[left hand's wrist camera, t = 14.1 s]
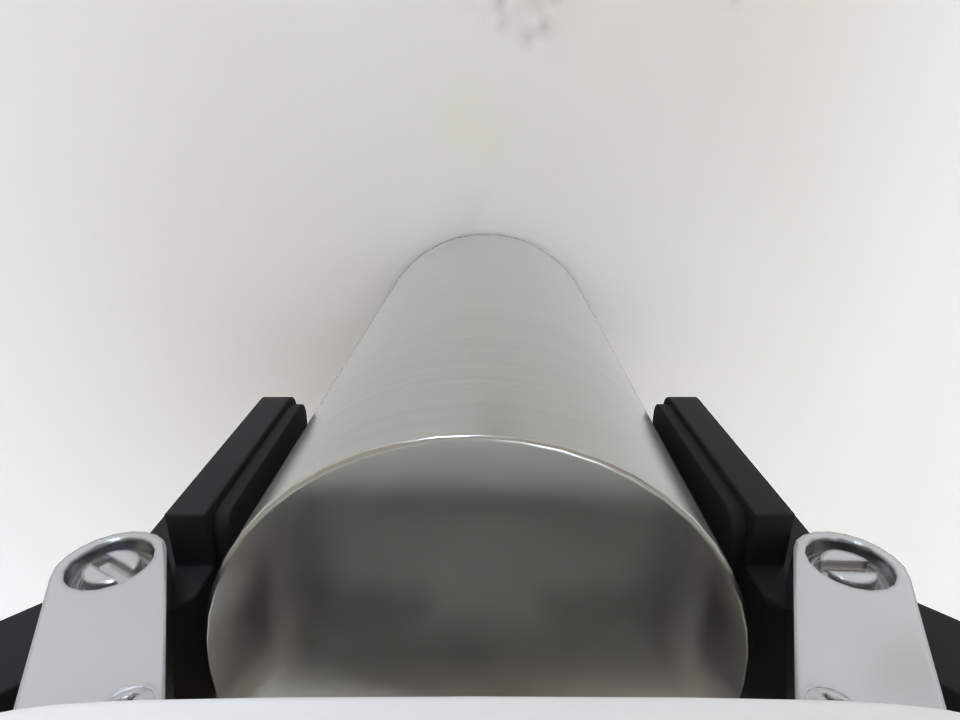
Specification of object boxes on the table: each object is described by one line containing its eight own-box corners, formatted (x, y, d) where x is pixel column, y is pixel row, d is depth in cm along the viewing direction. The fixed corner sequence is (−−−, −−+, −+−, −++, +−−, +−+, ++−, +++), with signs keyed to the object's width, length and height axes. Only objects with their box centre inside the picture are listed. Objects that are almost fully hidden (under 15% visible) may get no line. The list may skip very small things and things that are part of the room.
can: (448, 462, 21) (390, 900, 9) (341, 299, 19) (85, 588, 7) (624, 377, 19) (827, 756, 8) (530, 192, 17) (608, 325, 6)
